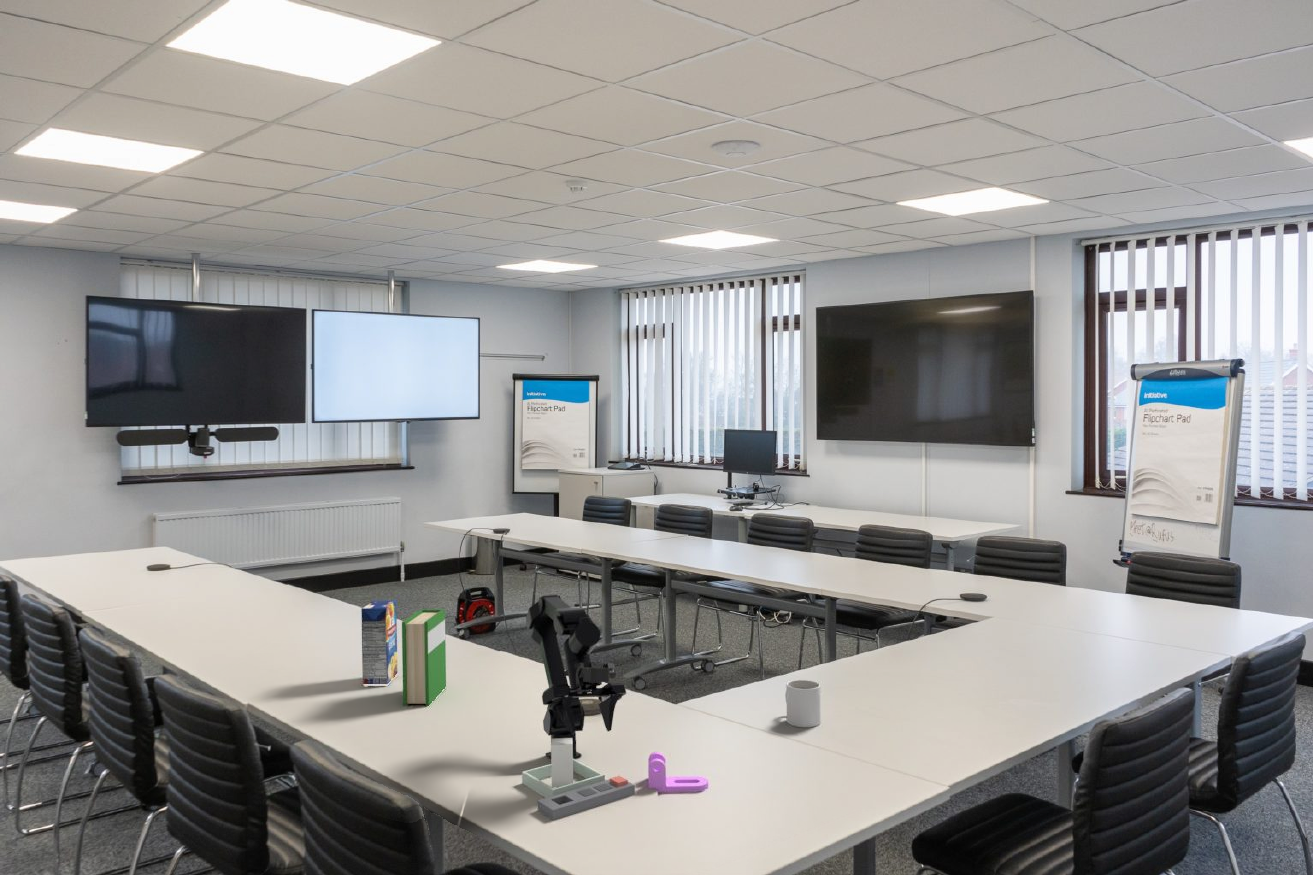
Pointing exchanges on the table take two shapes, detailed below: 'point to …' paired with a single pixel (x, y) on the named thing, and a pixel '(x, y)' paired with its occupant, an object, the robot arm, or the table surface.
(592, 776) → the tray
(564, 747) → the white long block
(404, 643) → the hardback book
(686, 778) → the bracket
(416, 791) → the table surface
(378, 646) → the juice carton
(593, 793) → the power strip
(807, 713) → the mug
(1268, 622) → the table surface
